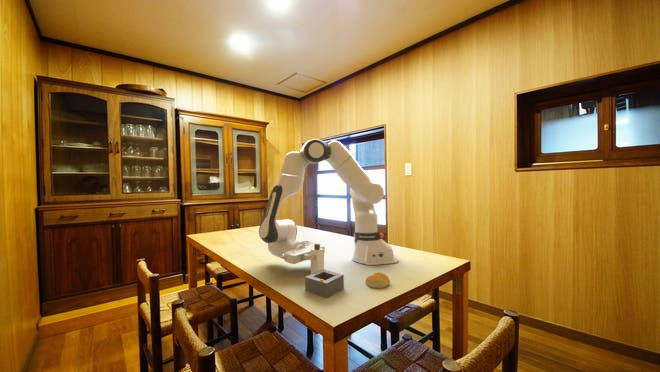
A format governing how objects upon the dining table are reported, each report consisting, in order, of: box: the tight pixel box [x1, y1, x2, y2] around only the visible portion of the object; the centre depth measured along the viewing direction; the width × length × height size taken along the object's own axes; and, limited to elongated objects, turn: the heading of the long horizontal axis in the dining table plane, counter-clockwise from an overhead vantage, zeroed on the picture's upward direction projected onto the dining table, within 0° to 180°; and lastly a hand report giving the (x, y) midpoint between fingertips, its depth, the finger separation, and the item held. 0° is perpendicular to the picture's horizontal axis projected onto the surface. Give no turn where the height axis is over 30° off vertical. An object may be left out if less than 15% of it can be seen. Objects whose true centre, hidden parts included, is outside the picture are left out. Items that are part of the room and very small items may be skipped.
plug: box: [310, 243, 325, 275], centre depth 111 cm, size 4×4×13 cm
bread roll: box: [365, 272, 391, 289], centre depth 101 cm, size 8×9×4 cm
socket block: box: [304, 269, 345, 299], centre depth 97 cm, size 10×10×5 cm
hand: (318, 256), depth 111 cm, fingers closed on plug, 4 cm apart
